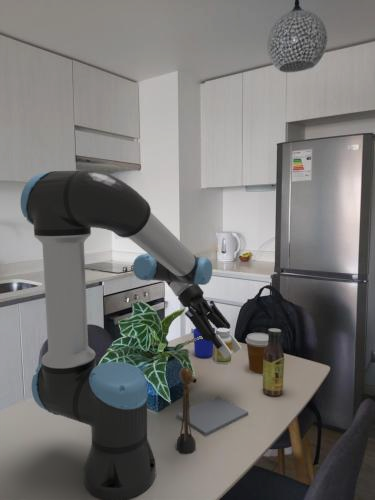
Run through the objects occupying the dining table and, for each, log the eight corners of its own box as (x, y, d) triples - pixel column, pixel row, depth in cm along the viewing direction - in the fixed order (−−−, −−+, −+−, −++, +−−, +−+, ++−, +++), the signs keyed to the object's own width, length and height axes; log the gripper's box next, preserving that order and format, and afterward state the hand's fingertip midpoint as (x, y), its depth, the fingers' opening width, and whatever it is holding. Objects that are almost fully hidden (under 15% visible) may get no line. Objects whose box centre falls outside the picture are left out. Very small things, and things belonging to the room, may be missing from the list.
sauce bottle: (277, 399, 119) (279, 334, 116) (258, 393, 122) (260, 330, 120) (286, 391, 124) (288, 329, 122) (268, 385, 127) (269, 325, 125)
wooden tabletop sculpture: (202, 451, 93) (202, 370, 91) (186, 458, 91) (186, 375, 88) (188, 439, 98) (188, 361, 96) (172, 445, 95) (172, 366, 93)
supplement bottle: (209, 360, 117) (209, 329, 116) (222, 356, 120) (222, 326, 119) (221, 366, 113) (222, 333, 112) (235, 362, 116) (235, 330, 115)
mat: (205, 435, 99) (205, 432, 99) (176, 416, 109) (176, 413, 109) (248, 414, 110) (248, 411, 110) (217, 398, 119) (217, 396, 119)
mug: (222, 351, 158) (222, 326, 157) (207, 361, 148) (208, 335, 147) (204, 347, 162) (204, 323, 161) (189, 356, 152) (189, 331, 151)
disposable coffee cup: (239, 366, 142) (240, 334, 141) (261, 362, 146) (262, 331, 145) (255, 377, 134) (255, 342, 132) (277, 372, 138) (278, 338, 136)
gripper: (195, 293, 131) (239, 351, 124) (162, 303, 116) (209, 370, 108) (209, 278, 128) (255, 337, 120) (177, 287, 112) (226, 355, 105)
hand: (233, 353), depth 114 cm, fingers closed on supplement bottle, 5 cm apart
